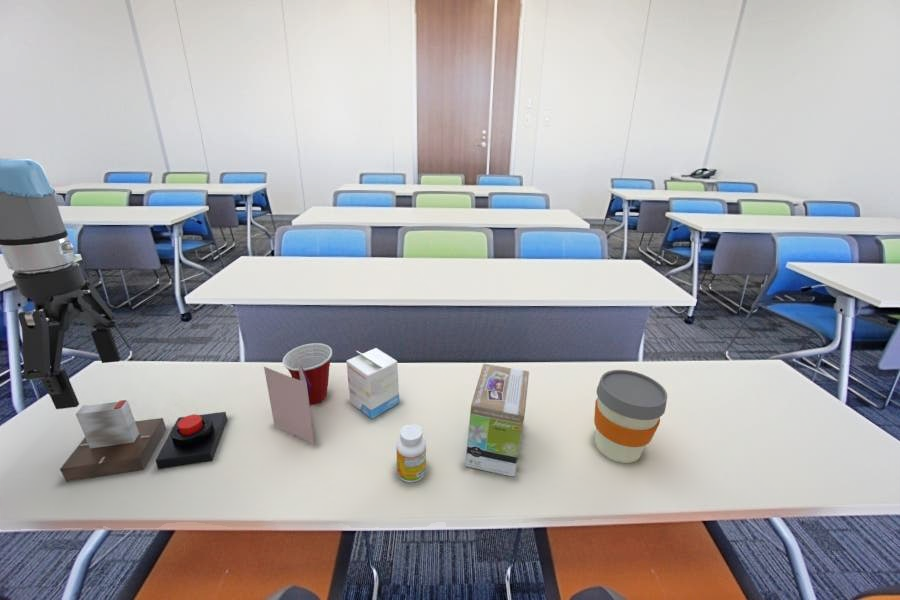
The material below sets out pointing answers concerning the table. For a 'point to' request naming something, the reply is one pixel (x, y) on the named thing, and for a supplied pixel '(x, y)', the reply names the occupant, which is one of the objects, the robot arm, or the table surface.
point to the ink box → (373, 382)
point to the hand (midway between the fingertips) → (91, 382)
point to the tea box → (497, 419)
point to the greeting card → (290, 403)
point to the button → (190, 424)
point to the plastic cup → (311, 368)
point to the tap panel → (115, 454)
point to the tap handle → (108, 424)
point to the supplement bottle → (411, 454)
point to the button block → (193, 443)
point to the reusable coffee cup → (627, 414)
